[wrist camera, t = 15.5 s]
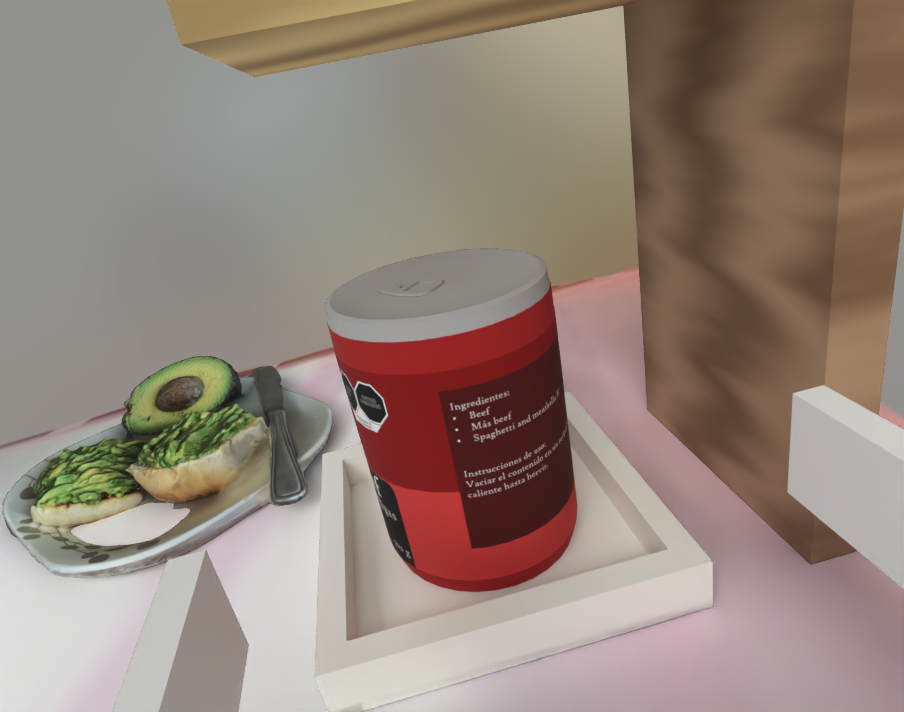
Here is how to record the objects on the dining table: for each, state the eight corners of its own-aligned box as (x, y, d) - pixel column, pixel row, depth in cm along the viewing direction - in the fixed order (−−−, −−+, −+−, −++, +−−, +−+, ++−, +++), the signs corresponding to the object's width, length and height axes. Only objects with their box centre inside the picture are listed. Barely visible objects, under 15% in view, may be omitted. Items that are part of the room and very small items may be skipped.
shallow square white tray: (713, 606, 20) (712, 561, 19) (332, 720, 19) (314, 677, 18) (572, 423, 32) (568, 390, 31) (332, 486, 31) (322, 453, 30)
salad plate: (426, 442, 34) (408, 369, 32) (97, 677, 23) (42, 587, 21) (256, 379, 47) (237, 325, 45) (-4, 508, 36) (-44, 444, 34)
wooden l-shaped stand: (862, 548, 21) (948, -164, 13) (392, 688, 20) (157, -26, 11) (682, 400, 32) (668, -38, 24) (371, 481, 30) (244, 42, 22)
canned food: (421, 472, 30) (369, 259, 25) (586, 472, 27) (559, 236, 23) (363, 592, 23) (278, 331, 19) (573, 607, 21) (532, 311, 16)
